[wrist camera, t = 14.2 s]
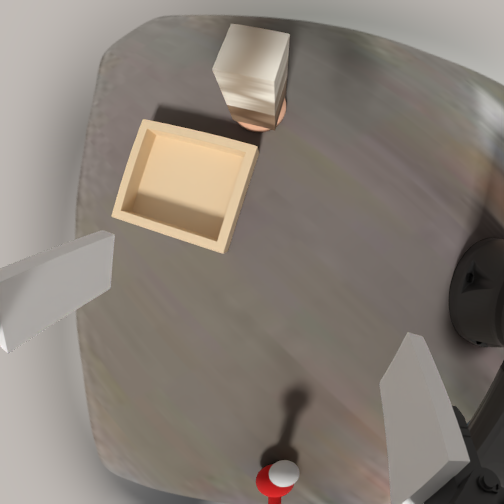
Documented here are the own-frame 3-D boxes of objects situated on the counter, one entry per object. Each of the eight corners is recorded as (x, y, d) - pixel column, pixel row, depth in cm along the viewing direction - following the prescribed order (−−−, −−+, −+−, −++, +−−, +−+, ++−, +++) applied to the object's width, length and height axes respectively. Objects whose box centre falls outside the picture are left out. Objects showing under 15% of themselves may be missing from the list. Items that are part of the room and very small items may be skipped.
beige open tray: (259, 153, 36) (257, 146, 32) (228, 251, 37) (223, 253, 33) (153, 127, 36) (142, 119, 33) (124, 217, 38) (111, 216, 34)
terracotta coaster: (273, 78, 35) (272, 74, 34) (294, 121, 35) (294, 117, 34) (225, 97, 35) (223, 93, 34) (244, 140, 36) (243, 137, 35)
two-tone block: (285, 93, 34) (289, 34, 21) (275, 130, 34) (274, 81, 21) (245, 84, 34) (231, 23, 21) (233, 120, 34) (212, 69, 22)
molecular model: (295, 500, 39) (296, 543, 29) (259, 501, 40) (256, 544, 30) (296, 426, 38) (300, 473, 28) (253, 427, 39) (247, 474, 29)
